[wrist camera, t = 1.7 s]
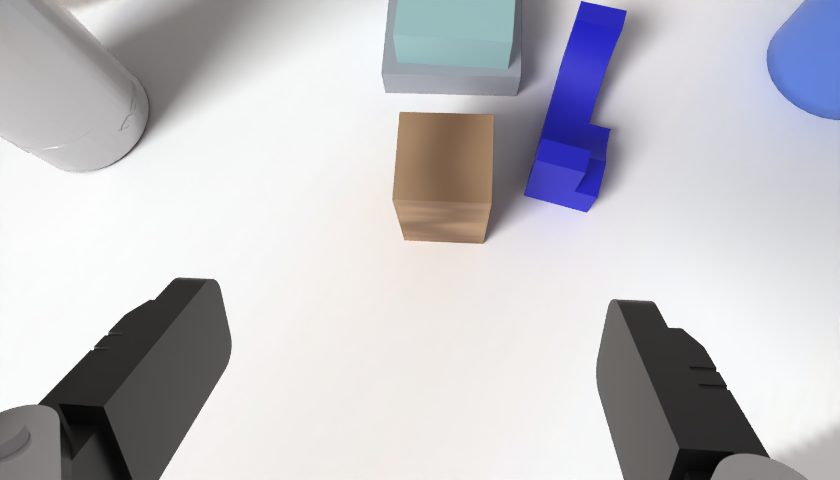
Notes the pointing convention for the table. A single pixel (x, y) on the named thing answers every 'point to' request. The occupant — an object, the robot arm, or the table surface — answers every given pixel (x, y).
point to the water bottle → (809, 58)
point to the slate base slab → (450, 69)
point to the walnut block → (444, 176)
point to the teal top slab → (454, 32)
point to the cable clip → (576, 115)
